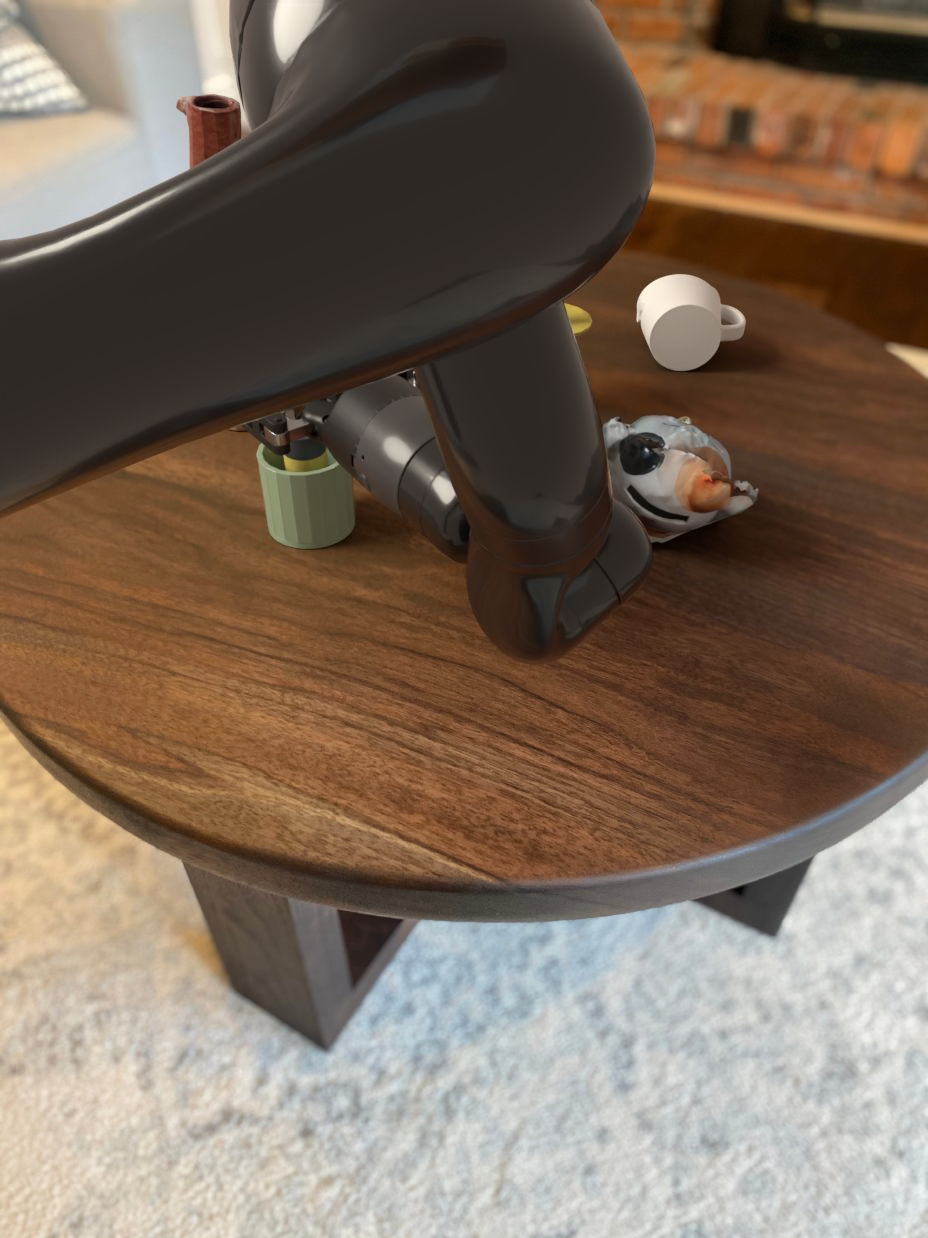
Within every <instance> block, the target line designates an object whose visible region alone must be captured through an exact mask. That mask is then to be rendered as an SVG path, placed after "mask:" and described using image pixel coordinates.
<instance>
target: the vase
mask: <svg viewBox="0 0 928 1238" xmlns="http://www.w3.org/2000/svg"><path fill="white" fill-rule="evenodd" d="M175 106H176V109H177V110H178V111H179V112H181V113H182V114H183V115H184V116H186V122H187V126H188V139H189V140H188V141H189V142H188V144H189V147H188V149H189V155H188V156H189V159H188V160H189V161H188V162H189V169H191V168H192V167H194V166H196V165H198V164H199V163H201V162H203V161H205V160H206V159H208V158H210V157H212V156H213V155H215V154H217V153H219V152H220V151H222V150H224V149H225V148H227V147H228V146H230V145H232V144H233V143H235V142H236V141H238V140H239V139H241V138H242V109H241V103H240V102H239V101H237V100H236V99H235V98H233V97H229V96H226V95H220V94H216V93H208V94H207V93H206V94H201V95H193V94H192V95H189V96H180V97H178V99H177V101H176V105H175ZM227 431H234V432H248V431H247V430H246V429H245V428H243V427H242V426H241V425H240V426H237V427H234V428H231V429H228V430H227Z"/></svg>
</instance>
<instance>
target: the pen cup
mask: <svg viewBox="0 0 928 1238" xmlns="http://www.w3.org/2000/svg"><path fill="white" fill-rule="evenodd" d="M326 453H327V464H328V467H325V468H323V469H320V470H315V471H309V472H289V471H285V463H284V456H283V455H276V454H274V453H273V452H272V451H271V450H270V449H268V448H267V447H266V446H265V445H264V444H262V443H261V442H260V444H259V445H258V447H257V450H256V454H255V455H256V461H257V468H258V474H259V482H260V487H261V495H262V500H263V507H264V513H265V514H264V515H265V520H266V525H267V531H268V533H269V534H270V536H271V538H272V539H274V541H276V542H278V543H279V544H281V545H284V546H286V547H290V548H294V549H301V550H314V549H322V548H327V547H329V546H332V545H335V544H337V543H340V542H341V541H342V540H344V539H346V538H347V537H349V535H350V534H352V532H353V530H354V528H355V527H356V504H355V503H356V501H355V500H356V499H355V490H354V489H355V488H354V477H353V476H352V475H350V474H349V473H348V472H347V471H346V470H345V469H344V468H343V467H342V466H341V465H340V464H339V463H338V462H337V461H336V460H335V459H334V458H333V456H332V455H331V453H330V452H329V450H328V449H327V447H326Z"/></svg>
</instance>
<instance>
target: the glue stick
mask: <svg viewBox="0 0 928 1238" xmlns="http://www.w3.org/2000/svg"><path fill="white" fill-rule="evenodd" d="M290 449H291V451H290V453H288V454H286V455H283V456H284V463H285V471H289V472H309V471H315V470H320V469H323V468H325V467H328V464H327V453H326V446H325V444H323V443H321V442H319V441H315V440H312V439H310V438H308V437H307V436H306V437H304V438H301V439H298V440H295V441H292V442H290Z"/></svg>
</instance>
